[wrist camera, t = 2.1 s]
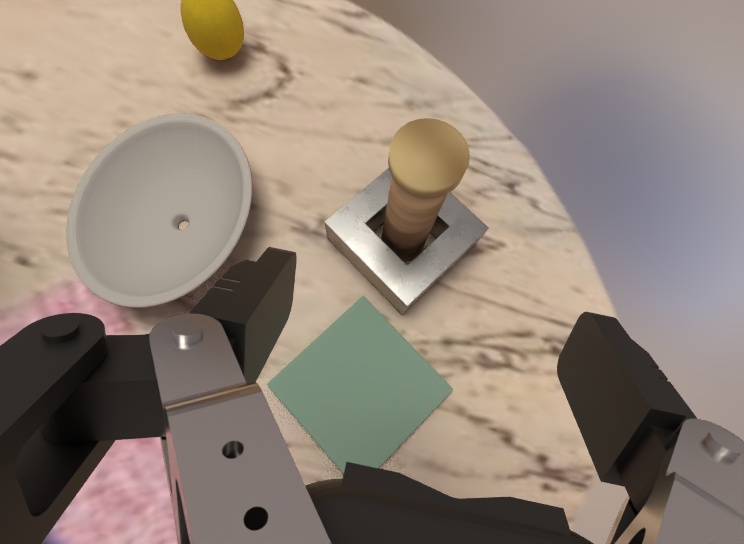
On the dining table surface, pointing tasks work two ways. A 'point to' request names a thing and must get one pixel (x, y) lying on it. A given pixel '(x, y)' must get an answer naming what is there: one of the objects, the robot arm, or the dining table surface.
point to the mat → (360, 388)
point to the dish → (159, 210)
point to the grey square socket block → (380, 263)
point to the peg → (421, 181)
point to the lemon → (213, 27)
